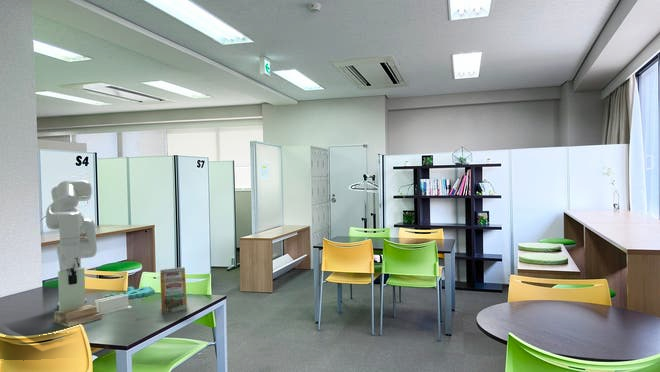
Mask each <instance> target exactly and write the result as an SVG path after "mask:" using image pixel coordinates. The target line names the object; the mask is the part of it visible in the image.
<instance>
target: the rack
mask: <svg viewBox="0 0 660 372" xmlns="http://www.w3.org/2000/svg"><path fill="white" fill-rule="evenodd" d="M53 313H54V315H53V316H54V322H55V323H57V324H60V325H62V326H65V327H67V328H70V327H71V326H72V327H75V326H78V325H77V324H79V325H83V324H86V323H90V322H93V321H97V320H101V319H103V316H102V315H103V314H101V313H97V314H96V315H92V316H88V317H84V318H80V319H76V320H73V321H69V322H68V325H67V324H64V323H63V312H62V313H59V310H57V311H54V312H53ZM72 327H71V328H72Z"/></svg>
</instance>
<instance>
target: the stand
mask: <svg viewBox="0 0 660 372" xmlns="http://www.w3.org/2000/svg"><path fill="white" fill-rule="evenodd" d="M129 304H130V303H129V299H128V295H124V294H120V295H116V296H111V297H107V298H105V297H104V298H100V299H95V300H94V306H96V307H97V314H100V313H101V314H102V315H107V314H110V313H111V314H112V313H115V312H117V311H121V310H122V311H123V310H126V309H128V310H133V306H132V305H129Z"/></svg>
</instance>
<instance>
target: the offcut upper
mask: <svg viewBox="0 0 660 372" xmlns="http://www.w3.org/2000/svg"><path fill="white" fill-rule="evenodd" d="M85 305H86V306H82V307H78V308H74V309H70V310H65V311H63V317H64V318H66V319H72V318H76V317H80V316H84V315H88V314H92V313H96V312H97V307H96V306H95V305H92V304H85ZM97 313H98V312H97Z"/></svg>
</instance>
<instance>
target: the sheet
mask: <svg viewBox="0 0 660 372" xmlns="http://www.w3.org/2000/svg"><path fill="white" fill-rule="evenodd" d="M71 271H72V270H71ZM68 276H69V270H65V271H60V270H59V271H57V280H58V284H57V285H58V302H59V306H58V309H59V310H58V311H59V313H62V312H63V311H65V310H70V309H74V308H78V307H82V306H86V305H87V304H86V302H85V298H86V284H85V283H86V281H85V279H86V277H85V267H81V268H78V271H77V284H72V285H69V282H68Z"/></svg>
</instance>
